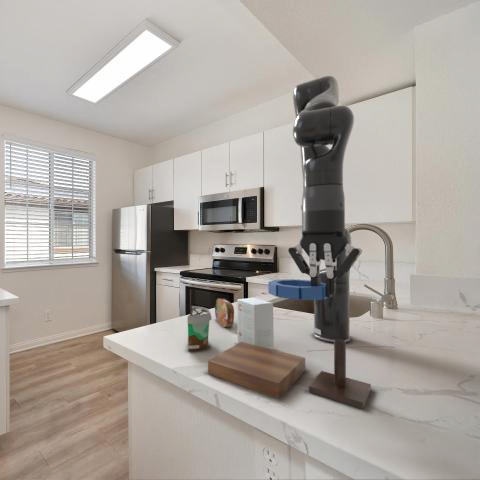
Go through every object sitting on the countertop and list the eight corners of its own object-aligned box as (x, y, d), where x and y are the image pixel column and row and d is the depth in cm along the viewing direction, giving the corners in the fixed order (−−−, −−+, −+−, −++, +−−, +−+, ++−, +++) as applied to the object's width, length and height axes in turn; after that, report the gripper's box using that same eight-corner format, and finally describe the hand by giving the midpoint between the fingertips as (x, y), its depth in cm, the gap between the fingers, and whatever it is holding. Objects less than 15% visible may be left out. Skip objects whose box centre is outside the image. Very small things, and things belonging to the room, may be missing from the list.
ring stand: (321, 376, 66) (321, 330, 66) (370, 389, 60) (370, 339, 60) (308, 391, 59) (308, 341, 59) (362, 409, 53) (362, 352, 53)
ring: (281, 287, 71) (281, 277, 71) (334, 293, 63) (334, 282, 63) (261, 295, 63) (261, 283, 63) (318, 302, 55) (318, 289, 55)
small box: (274, 350, 81) (273, 302, 80) (254, 354, 78) (254, 304, 78) (255, 341, 88) (254, 297, 88) (236, 343, 86) (236, 298, 86)
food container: (211, 355, 78) (210, 317, 78) (187, 353, 79) (187, 316, 79) (212, 339, 90) (212, 306, 90) (192, 337, 91) (191, 305, 91)
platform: (241, 352, 80) (241, 341, 80) (305, 370, 69) (305, 357, 69) (208, 373, 68) (207, 360, 68) (278, 398, 57) (278, 383, 57)
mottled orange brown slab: (214, 318, 113) (214, 296, 113) (222, 317, 113) (222, 295, 113) (226, 330, 98) (226, 305, 98) (235, 330, 98) (235, 304, 98)
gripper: (367, 208, 58) (367, 297, 58) (294, 212, 67) (294, 289, 67) (359, 205, 52) (359, 304, 53) (281, 211, 62) (281, 294, 62)
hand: (323, 295), depth 60 cm, fingers closed on ring, 1 cm apart
